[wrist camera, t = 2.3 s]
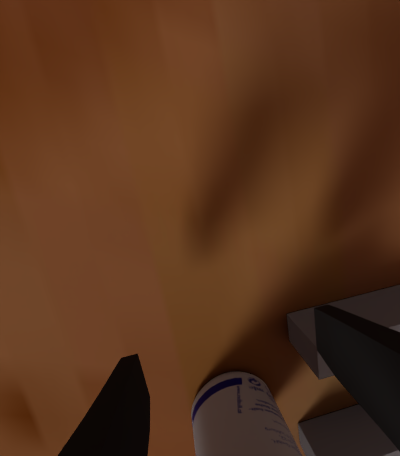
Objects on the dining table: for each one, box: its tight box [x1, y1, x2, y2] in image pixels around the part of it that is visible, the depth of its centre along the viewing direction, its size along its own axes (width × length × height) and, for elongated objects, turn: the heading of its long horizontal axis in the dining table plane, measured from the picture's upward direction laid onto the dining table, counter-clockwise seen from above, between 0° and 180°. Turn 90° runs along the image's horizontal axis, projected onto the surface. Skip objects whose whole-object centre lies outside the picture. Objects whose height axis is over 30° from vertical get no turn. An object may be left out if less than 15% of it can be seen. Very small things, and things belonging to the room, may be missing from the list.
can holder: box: [287, 285, 400, 456], centre depth 15 cm, size 10×11×3 cm
